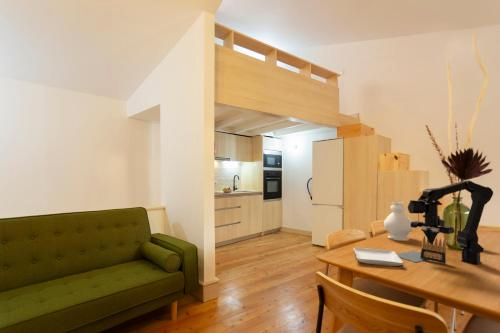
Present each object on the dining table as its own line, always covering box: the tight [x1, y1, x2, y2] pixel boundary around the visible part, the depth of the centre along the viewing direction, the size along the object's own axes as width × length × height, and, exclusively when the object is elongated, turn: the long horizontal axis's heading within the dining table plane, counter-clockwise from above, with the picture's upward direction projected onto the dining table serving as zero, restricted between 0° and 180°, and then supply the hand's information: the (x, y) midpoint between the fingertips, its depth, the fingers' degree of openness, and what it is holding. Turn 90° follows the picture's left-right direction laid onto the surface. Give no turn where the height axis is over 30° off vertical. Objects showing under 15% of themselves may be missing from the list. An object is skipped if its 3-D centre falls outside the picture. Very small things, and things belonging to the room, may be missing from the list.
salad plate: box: [353, 247, 404, 267], centre depth 140 cm, size 21×21×3 cm
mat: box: [396, 250, 427, 263], centre depth 145 cm, size 13×18×1 cm
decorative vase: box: [383, 201, 414, 242], centre depth 185 cm, size 18×18×25 cm
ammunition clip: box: [420, 235, 447, 264], centre depth 138 cm, size 11×2×12 cm, turn 49°
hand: (431, 243), depth 137 cm, fingers closed
